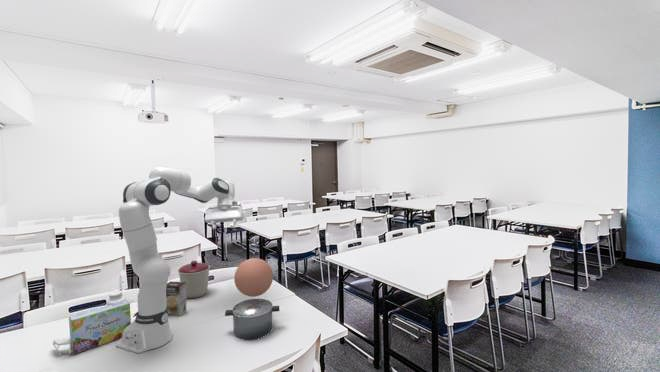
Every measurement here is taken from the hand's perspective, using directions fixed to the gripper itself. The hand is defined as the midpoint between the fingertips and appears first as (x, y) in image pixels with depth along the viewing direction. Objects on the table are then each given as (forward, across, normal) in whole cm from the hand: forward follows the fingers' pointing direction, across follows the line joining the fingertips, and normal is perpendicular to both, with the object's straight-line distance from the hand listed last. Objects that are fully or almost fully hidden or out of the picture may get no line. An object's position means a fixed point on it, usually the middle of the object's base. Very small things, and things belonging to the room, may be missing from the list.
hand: (223, 228), depth 165 cm
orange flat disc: (+26, +16, +6) cm, 32 cm away
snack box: (+49, -50, +8) cm, 70 cm away
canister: (+19, -26, +45) cm, 55 cm away
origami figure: (+52, -62, +4) cm, 81 cm away
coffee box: (+34, -28, +27) cm, 52 cm away
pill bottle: (+37, -54, +22) cm, 69 cm away
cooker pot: (+50, +15, +12) cm, 53 cm away
